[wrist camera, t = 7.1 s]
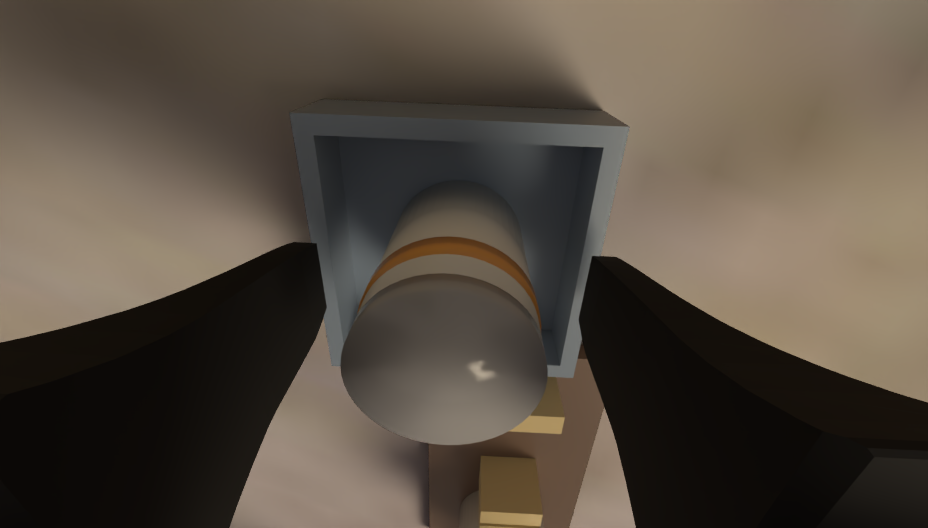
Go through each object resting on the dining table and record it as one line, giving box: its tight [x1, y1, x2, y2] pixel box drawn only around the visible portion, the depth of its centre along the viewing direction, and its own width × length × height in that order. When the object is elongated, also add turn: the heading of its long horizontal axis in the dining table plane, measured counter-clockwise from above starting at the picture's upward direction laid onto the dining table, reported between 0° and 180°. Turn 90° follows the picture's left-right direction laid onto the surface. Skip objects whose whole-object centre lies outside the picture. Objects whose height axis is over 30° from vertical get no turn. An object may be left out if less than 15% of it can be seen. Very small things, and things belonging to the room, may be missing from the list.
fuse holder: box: [428, 345, 604, 528], centre depth 18 cm, size 7×14×3 cm, turn 178°
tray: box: [289, 99, 630, 378], centre depth 13 cm, size 8×8×2 cm
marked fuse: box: [340, 180, 548, 445], centre depth 11 cm, size 4×4×6 cm
